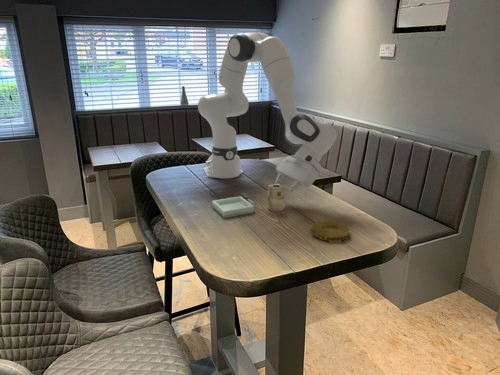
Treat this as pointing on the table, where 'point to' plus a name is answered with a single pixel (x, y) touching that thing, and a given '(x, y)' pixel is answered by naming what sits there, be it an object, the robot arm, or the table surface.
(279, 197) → the bored block
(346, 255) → the table surface
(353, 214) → the table surface
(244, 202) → the tray
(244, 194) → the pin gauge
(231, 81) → the robot arm
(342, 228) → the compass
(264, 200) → the table surface
